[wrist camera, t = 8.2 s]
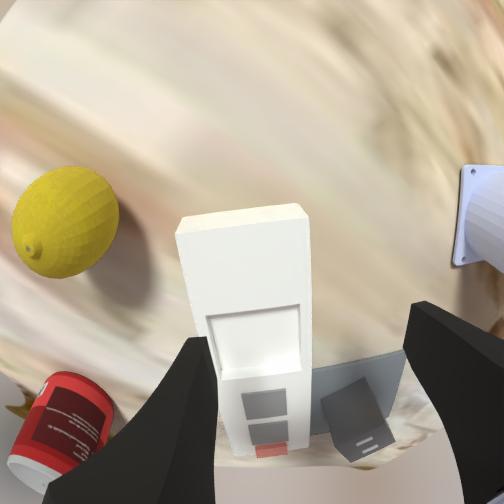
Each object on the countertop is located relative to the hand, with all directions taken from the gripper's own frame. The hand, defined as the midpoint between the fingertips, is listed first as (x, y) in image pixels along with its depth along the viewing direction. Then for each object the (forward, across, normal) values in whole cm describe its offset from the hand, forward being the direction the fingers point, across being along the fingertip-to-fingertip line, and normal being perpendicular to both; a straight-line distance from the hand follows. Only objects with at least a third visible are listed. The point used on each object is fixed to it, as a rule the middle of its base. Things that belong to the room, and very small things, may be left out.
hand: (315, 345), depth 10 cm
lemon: (+11, +11, -4) cm, 16 cm away
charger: (+10, -6, +17) cm, 20 cm away
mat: (+10, -6, +17) cm, 21 cm away
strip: (+10, +2, +11) cm, 15 cm away
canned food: (+11, +20, +14) cm, 27 cm away
